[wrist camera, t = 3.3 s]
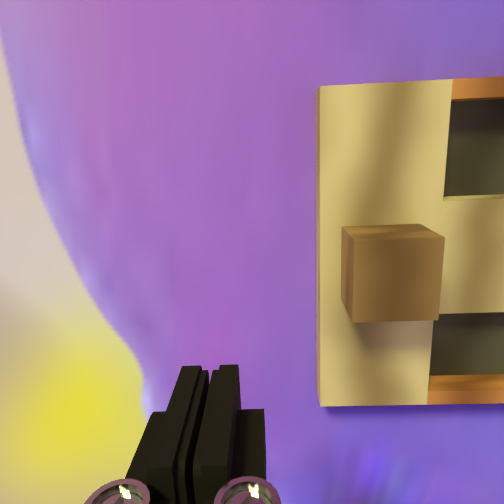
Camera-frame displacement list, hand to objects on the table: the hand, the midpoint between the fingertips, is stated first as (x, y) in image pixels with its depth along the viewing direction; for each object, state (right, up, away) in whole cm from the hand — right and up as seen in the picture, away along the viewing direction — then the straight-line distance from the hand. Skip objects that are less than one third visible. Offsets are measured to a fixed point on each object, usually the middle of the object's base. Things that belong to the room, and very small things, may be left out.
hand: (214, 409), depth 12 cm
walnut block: (+9, +4, +12) cm, 16 cm away
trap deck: (+15, +5, +14) cm, 21 cm away
